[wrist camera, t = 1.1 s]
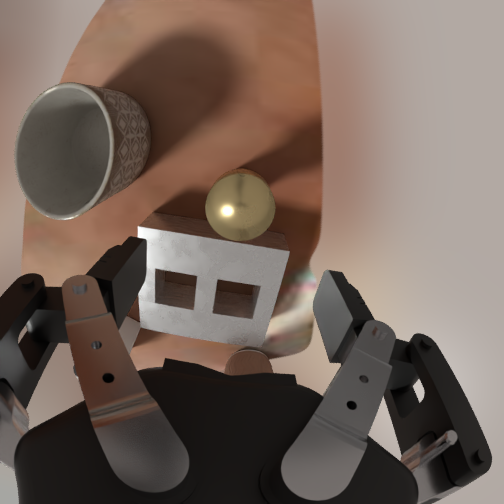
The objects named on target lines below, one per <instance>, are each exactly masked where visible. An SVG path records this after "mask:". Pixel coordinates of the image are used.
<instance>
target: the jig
mask: <svg viewBox="0 0 504 504" xmlns="http://www.w3.org/2000/svg"><path fill="white" fill-rule="evenodd" d="M138 238H144V239H146V240H147V273H146V279H145V282H144V284H143V286H142V288H141V290H140V291H139V293H138V294H139V313H140V326H141V328H145V329H149V330H154V331H159V332H164V333H169V334H174V335H179V336H185V337H190V338H196V339H202V340H208V341H215V342H222V343H229V344H236V345H244V346H252V347H261V348H262V345H263V342H264V338H265V335H266V332H267V329H268V325H269V322H270V319H271V316H272V312H273V309H274V306H275V302H276V299H277V295H278V292H279V289H280V285H281V282H282V278H283V275H284V271H285V268H286V264H287V261H288V257H289V253H290V250H289V247H288V244H287V242H286V239H285V236H284V234H283V233H277V232H272V231H265V232H264V233H262V234H261V235H260V236H258V237H256V238H253V239H251V240H246V241H234V240H230V239H227V238H225V237H223V236H221V235H220V234H218V233H217V232H216V231H215V230H214V229H213V228H212V226H211V225H210V223H209V221H207V220H201V219H194V218H188V217H182V216H175V215H169V214H162V213H155V212H152V213H151V214H150V215H149V216H148V217H147V218H146V219H145V220H144V221H143V222H142V223H141V224H140V225H139V226H138ZM165 270H167V271H172V272H178V273H184V274H190V275H195V276H197V284H196V287H194V286H189V285H183V284H177V283H172V282H166V281H165ZM218 279H220V280H226V281H232V282H239V283H245V284H252V285H254V287H253V292H252V296H251V295H244V294H238V293H231V292H225V291H218V290H216V287H217V280H218Z"/></svg>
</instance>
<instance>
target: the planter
mask: <svg viewBox="0 0 504 504" xmlns="http://www.w3.org/2000/svg"><path fill="white" fill-rule="evenodd" d="M150 145H151V131H150V125H149V121H148V118H147V116H146V113H145V112H144V110H143V108H142V107H141V106H140V104H139V103H138V102H137V101H136V100H135V99H134V98H132V97H131V96H129V95H127V94H125V93H122V92H119V91H115V90H110V89H106V88H101V87H96V86H91V85H85V84H79V83H72V82H68V83H61V84H58V85H55V86H53V87H51V88H49V89H47V90H46V91H44V92H43V93H42V94H40V95H39V96H38V97H37V98H36V100H34V102H33V103H32V104H31V105H30V107H29V108H28V110H27V112H26V113H25V115H24V117H23V119H22V121H21V124H20V126H19V130H18V133H17V137H16V142H15V153H14V157H15V158H14V159H15V169H16V175H17V178H18V182H19V185H20V187H21V189H22V191H23V193H24V195H25V197H26V198H27V200H28V201H29V203H30V204H31V205H32V206H33V207H34V208H35V209H36V210H37V211H38V212H40V213H41V214H43V215H45V216H47V217H49V218H52V219H56V220H69V219H73V218H76V217H78V216H80V215H82V214H84V213H85V212H87V211H88V210H90V209H92V208H93V207H95V206H96V205H98V204H100V203H101V202H103V201H105V200H106V199H108V198H110V197H111V196H113V195H115V194H116V193H118V192H120V191H122V190H123V189H125V188H126V187H128V186H129V185H130V184H131V183H132V182H133V181H134V180H135V179H136V178H137V177H138V176H139V174H140V173H141V171H142V170H143V168H144V166H145V164H146V161H147V158H148V155H149V151H150Z"/></svg>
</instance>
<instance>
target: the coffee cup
mask: <svg viewBox="0 0 504 504" xmlns="http://www.w3.org/2000/svg"><path fill="white" fill-rule="evenodd" d="M264 372H265V373H273V370H272V366H271V363H270V361H269V359H268V357H267V356H266V355H265V354H264V353H262V352H260V351H256V350H241V351H238V352H236V353H234V354H232V355H231V356H230V357H229V359H228V361H227V364H226V367H225V372H224V374H227V375H245V374H255V373H264Z"/></svg>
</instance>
